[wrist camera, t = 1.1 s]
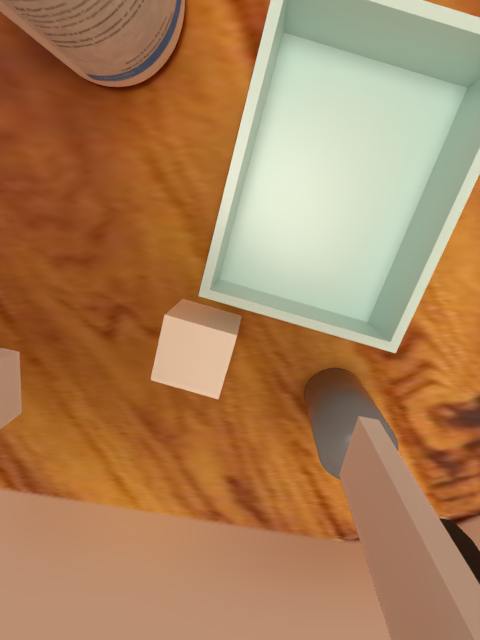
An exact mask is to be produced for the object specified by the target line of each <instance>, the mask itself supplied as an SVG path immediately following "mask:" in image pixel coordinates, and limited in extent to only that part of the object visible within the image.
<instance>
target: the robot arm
mask: <svg viewBox="0 0 480 640" xmlns="http://www.w3.org/2000/svg"><path fill="white" fill-rule="evenodd" d="M21 413H22V403H21V377H20V352H19V351H15V350H9V349H4V348H0V429H2V428H3V427H4V426H5V425H7V424H8V423H9V422H11V421H12V420H13V419H15V418H16V417H17V416H19V415H20V414H21ZM339 476H340V479H341V482H342V485H343V488H344V491H345V495H346V498H347V501H348V504H349V507H350V510H351V514H352V517H353V520H354V523H355V526H356V529H357V533H358V536H359V539H360V542H361V545H362V548H363V552H364V555H365V558H366V561H367V564H368V567H369V571H370V574H371V577H372V580H373V583H374V586H375V590H376V593H377V596H378V599H379V602H380V605H381V609H382V612H383V615H384V618H385V621H386V624H387V628H388V631H389V634H390V637H391V640H480V551H479V550H478V548H477V547H476V545H475V544H474V542H473V541H472V540H471V539H470V538H469V537H468V536H467V535H466V534H465V533H464V532H463V531H462V530H461V529H460V528H459V527H458V526H457V525H456V524H455V523H454V522H453V521H451V520H446V519H441V518H439V517H438V516H437V514H436V512H435V511H434V509H433V508H432V506H431V504H430V503H429V501H428V499H427V498H426V496H425V494H424V493H423V491H422V490H421V488H420V486H419V485H418V483H417V481H416V480H415V478H414V477H413V475H412V473H411V472H410V470H409V468H408V467H407V465H406V464H405V462H404V460H403V459H402V457H401V455H400V454H399V452H398V450H397V449H396V447H395V446H394V444H393V442H392V441H391V439H390V437H389V436H388V434H387V433H386V431H385V429H384V428H383V426H382V424H381V423H380V421H379V420H377V419H372V418H366V417H361V416H358V419H357V422H356V425H355V428H354V431H353V434H352V437H351V440H350V443H349V446H348V449H347V452H346V455H345V458H344V461H343V464H342V467H341V470H340V473H339Z"/></svg>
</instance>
